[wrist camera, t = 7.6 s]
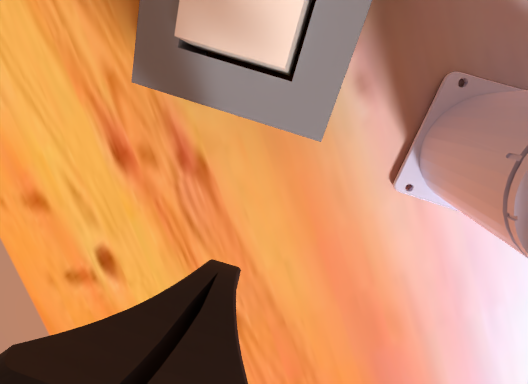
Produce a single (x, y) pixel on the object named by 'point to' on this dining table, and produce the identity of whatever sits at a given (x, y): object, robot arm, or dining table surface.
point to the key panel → (250, 81)
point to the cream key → (245, 29)
